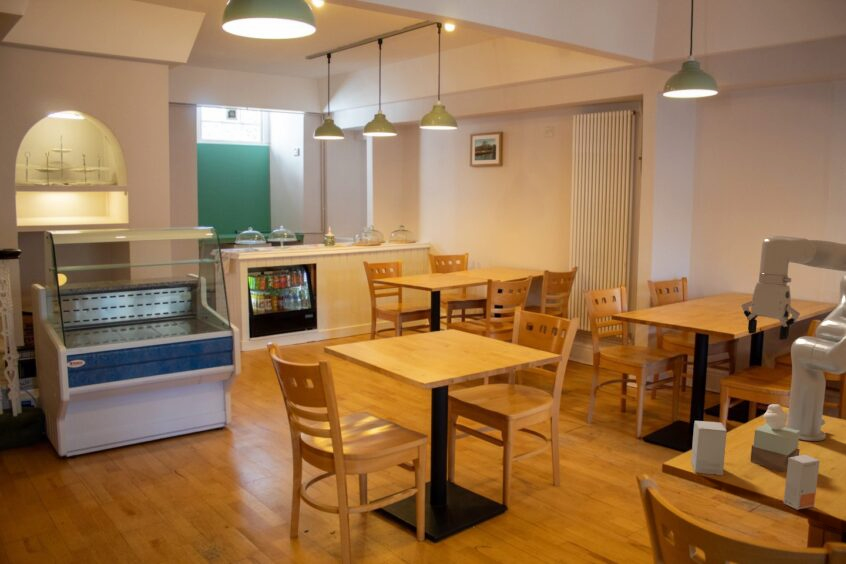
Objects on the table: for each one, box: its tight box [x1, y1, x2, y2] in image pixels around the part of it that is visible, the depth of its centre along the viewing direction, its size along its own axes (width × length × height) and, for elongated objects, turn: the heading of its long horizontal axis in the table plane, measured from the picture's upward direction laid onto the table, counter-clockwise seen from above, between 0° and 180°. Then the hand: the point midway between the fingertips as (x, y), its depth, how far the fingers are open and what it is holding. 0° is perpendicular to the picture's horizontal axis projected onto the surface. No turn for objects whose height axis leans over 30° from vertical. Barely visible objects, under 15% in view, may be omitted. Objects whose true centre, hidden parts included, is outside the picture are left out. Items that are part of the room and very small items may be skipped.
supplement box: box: [690, 420, 727, 476], centre depth 200 cm, size 7×7×13 cm
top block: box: [753, 422, 800, 455], centre depth 206 cm, size 9×9×5 cm
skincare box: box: [783, 454, 820, 511], centre depth 179 cm, size 6×4×12 cm
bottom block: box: [750, 444, 801, 473], centre depth 206 cm, size 9×9×5 cm
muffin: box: [763, 403, 788, 429], centre depth 206 cm, size 6×6×7 cm
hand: (767, 336), depth 219 cm, fingers open, 9 cm apart
